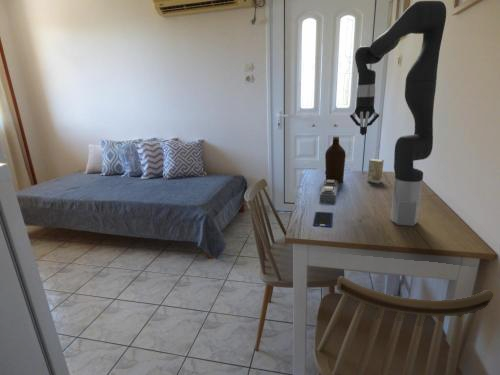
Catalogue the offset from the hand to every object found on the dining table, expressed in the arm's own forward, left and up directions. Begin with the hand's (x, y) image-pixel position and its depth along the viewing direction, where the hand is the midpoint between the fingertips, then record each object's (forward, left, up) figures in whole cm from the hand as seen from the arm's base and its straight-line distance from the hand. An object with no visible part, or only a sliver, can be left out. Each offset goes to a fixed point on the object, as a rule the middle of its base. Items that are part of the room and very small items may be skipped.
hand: (363, 134), depth 138 cm
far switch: (+4, +14, -24) cm, 28 cm away
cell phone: (-33, +14, -30) cm, 46 cm away
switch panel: (-2, +14, -29) cm, 32 cm away
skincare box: (+22, -8, -29) cm, 37 cm away
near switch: (-8, +14, -24) cm, 29 cm away
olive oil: (+19, +13, -29) cm, 37 cm away
